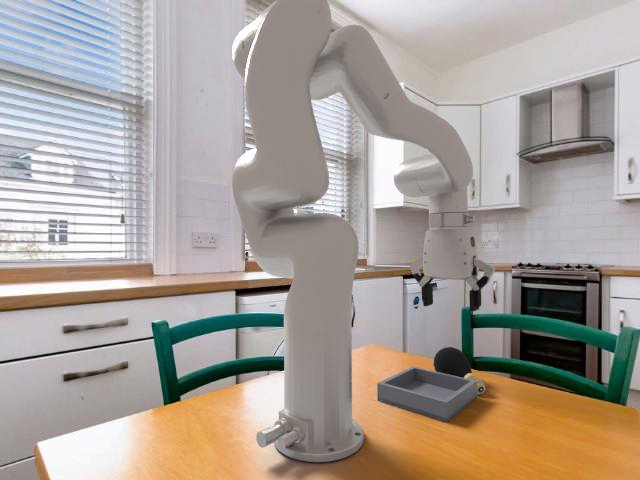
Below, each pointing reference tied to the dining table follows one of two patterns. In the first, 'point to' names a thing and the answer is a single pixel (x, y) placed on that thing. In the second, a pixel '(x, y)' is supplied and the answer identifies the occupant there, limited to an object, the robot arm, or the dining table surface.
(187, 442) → the dining table surface
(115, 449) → the dining table surface
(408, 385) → the parts tray
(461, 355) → the light bulb
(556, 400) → the dining table surface
